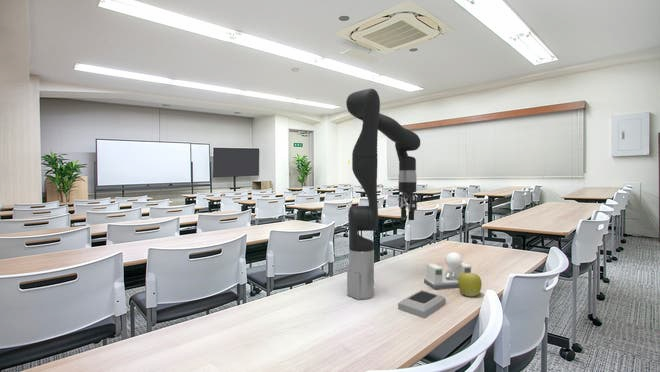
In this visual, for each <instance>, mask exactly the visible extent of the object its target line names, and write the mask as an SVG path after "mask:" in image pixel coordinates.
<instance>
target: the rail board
mask: <svg viewBox="0 0 660 372" xmlns="http://www.w3.org/2000/svg"><path fill="white" fill-rule="evenodd" d="M423 283H424V284H426V285H427V286H428V287H429V288H431V289H433V290H434V291H436V290H437V291H438V290H447V289H448V290H450V289H460V288H459V284H458V278H456V277H454V275H452V278H450V279H448V278H446V277H445V276H443V279H442V283H438V284H434V283H432V282H431V281H430V280H428V279H427V278H423Z"/></svg>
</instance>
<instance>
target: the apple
mask: <svg viewBox="0 0 660 372" xmlns="http://www.w3.org/2000/svg"><path fill="white" fill-rule="evenodd" d="M458 284H459V288H458V289H459V290H460V293H461V294H463V295H464V296H465V297H470V298H471V297H472V298H473V297H476V296H478V295H479V294H480V293H481V290H482V279H481V277H480V276H479V274H477V273H475V272H471V273H462V274H460V276H459V278H458Z"/></svg>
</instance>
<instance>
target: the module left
mask: <svg viewBox="0 0 660 372" xmlns="http://www.w3.org/2000/svg"><path fill="white" fill-rule="evenodd" d="M425 270H426V275H425V276H426V278H427V279H428V280H430V281H431V282H432V283H434V284H438V283H442V279H443V277H444V276H443V275H444V274H443V272H444V271H443V270H444V269H443V267H442V266H440V265H438V264H436V263H426V269H425Z"/></svg>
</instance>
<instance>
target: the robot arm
mask: <svg viewBox="0 0 660 372" xmlns="http://www.w3.org/2000/svg"><path fill="white" fill-rule="evenodd" d="M345 103H346V105H345V106H346V108H347V110H348V113H349V114H350V115H351V116H353V117H355V118H357V119H358V120H360V121H362V127H361V131H360V133H359V136H358V137H357V140H356V142H355V144H354V146H353V149H352V155H351V157H352V158H351V161H352V162H351V170H352V172H353V175H354V177H355V178H356V180H357V182H358V183H359V185H360V186H361V188H362V189H363V190H364V193H365V195H366V197H367V200H368V205H352V206H350V207H349V209H348V214H347V215H348V216H347V217H348V234H349V235H348V236H349V240H348V241H349V244H348V269H347V271H346V279H347V280H346V283H347V285H346V286H347V287H346V295H347V296H349V297H352V298H354V299H356V300H359V301H360V300H366V299H367V300H368V299H371V298H373V297H374V296H375V279H374V277H375V243H374V241H373V240H372V239H369V238H365V237H364V236H362V235H360V234H359V233H358V232H367V231H368V232H373V231H374V232H375V231H376V230H377V229H378V225H379V207H378V206H379V205H378V204H379V203H378V188H377V187H378V132H380V133H382V134H383V135H384V136H385V137H387V139H389V140H391V142H393V143H394V148H395V151H396V155H397V159H398V169H399V170H398V188H397V189H398V192H399V194H398V207H399V209H400V218H402V219H405V218H407V215H408V221H414V220H415V211H417V210H418V207H417V206H418V202H417V200H418V199H417V195H414V194H413V193H417V159H416V158H415V157H414V156H411V155H408V152H411V151H417V150H418V149H419V148H420V146H421V139H420V136H419V135H418V134H417V133H415V132H414V131H413V130H410V129H408V128H405V127H403V125H401V124H400V123H399V122H398V121H397V120H395V119H394V118H392V117H390V116H388V115H385V114H382V113H381V112H380V111H381V99H380V95H379V93H378V91H377V90H376V89H374V88H367V89H366V88H365V89H362V90H358V91H355V92H352V93H350V94H349V95H348V96H347V98H346V101H345ZM407 209H408V214H407Z"/></svg>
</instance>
